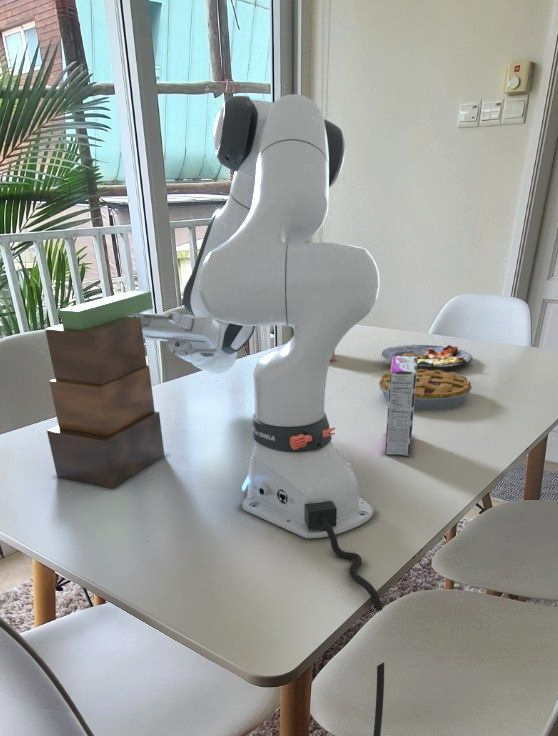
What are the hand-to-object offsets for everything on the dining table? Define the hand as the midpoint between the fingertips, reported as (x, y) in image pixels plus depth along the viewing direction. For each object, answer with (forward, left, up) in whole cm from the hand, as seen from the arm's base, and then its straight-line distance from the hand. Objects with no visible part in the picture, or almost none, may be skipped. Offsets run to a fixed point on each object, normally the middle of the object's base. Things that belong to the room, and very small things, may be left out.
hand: (150, 314), depth 119 cm
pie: (-16, -60, -25) cm, 67 cm away
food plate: (+6, -84, -25) cm, 88 cm away
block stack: (-8, +15, -25) cm, 30 cm away
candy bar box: (-34, -34, -25) cm, 55 cm away
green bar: (-6, +10, +1) cm, 12 cm away
